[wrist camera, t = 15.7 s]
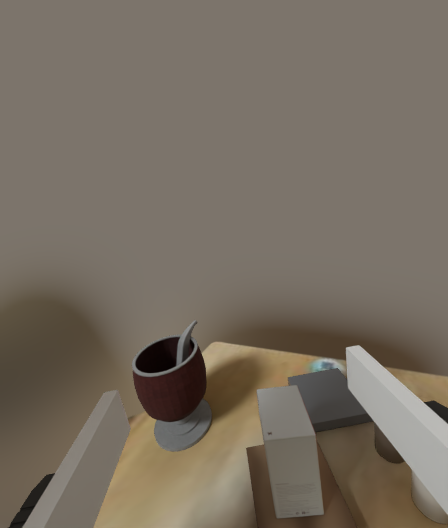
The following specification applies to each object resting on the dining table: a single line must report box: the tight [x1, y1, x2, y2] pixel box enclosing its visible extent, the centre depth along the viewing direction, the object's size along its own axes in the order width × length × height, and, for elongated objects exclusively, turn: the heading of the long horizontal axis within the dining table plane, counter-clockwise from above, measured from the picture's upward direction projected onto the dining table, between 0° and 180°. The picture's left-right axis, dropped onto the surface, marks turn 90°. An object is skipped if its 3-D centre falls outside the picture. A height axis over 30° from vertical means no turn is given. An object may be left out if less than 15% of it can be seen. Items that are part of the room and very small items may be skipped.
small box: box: [257, 385, 324, 518], centre depth 31 cm, size 8×6×13 cm
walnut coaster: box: [246, 442, 357, 528], centre depth 33 cm, size 12×12×2 cm
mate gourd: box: [132, 320, 212, 451], centre depth 46 cm, size 16×14×20 cm
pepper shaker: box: [374, 422, 404, 463], centre depth 35 cm, size 4×4×8 cm
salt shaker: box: [411, 470, 448, 524], centre depth 29 cm, size 4×4×8 cm
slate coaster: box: [288, 368, 373, 432], centre depth 47 cm, size 12×12×2 cm
